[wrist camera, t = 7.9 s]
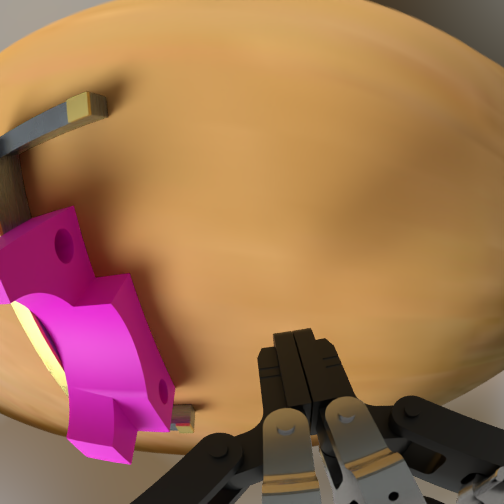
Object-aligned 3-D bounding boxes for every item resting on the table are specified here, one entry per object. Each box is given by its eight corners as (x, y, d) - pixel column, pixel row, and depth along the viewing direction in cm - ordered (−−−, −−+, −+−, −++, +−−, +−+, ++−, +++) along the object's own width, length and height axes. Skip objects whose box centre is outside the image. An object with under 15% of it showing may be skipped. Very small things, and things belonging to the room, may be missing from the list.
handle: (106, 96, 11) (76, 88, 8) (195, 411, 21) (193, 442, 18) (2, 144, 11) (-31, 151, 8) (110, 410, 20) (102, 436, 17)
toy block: (175, 386, 19) (165, 467, 13) (109, 386, 19) (86, 456, 12) (110, 195, 14) (29, 245, 7) (33, 217, 13) (-45, 266, 6)
